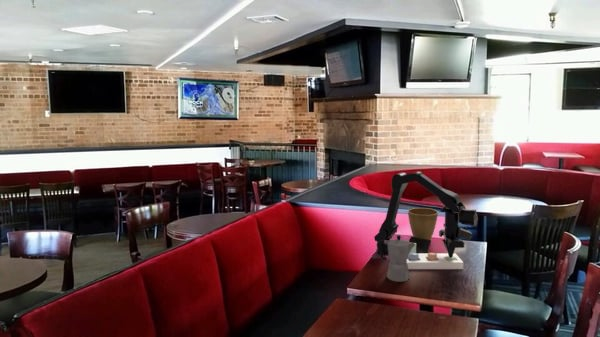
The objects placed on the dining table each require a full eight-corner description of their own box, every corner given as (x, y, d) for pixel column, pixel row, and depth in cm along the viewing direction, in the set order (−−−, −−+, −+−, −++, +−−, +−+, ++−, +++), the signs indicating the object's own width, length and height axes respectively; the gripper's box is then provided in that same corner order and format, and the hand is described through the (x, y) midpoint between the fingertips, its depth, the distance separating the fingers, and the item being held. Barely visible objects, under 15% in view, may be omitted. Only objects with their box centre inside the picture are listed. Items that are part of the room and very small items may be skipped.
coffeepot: (415, 275, 194) (415, 233, 191) (414, 283, 185) (415, 239, 182) (377, 272, 198) (378, 231, 195) (375, 280, 189) (375, 237, 186)
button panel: (406, 269, 201) (406, 251, 199) (402, 259, 212) (402, 242, 211) (463, 269, 199) (463, 251, 198) (455, 259, 211) (455, 242, 210)
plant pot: (402, 238, 245) (403, 208, 243) (429, 236, 248) (429, 207, 246) (414, 246, 231) (415, 215, 229) (442, 244, 233) (443, 213, 231)
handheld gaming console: (400, 249, 223) (407, 230, 226) (403, 254, 229) (410, 236, 232) (423, 256, 217) (430, 237, 220) (425, 261, 223) (432, 243, 226)
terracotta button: (428, 263, 203) (428, 255, 202) (426, 260, 207) (426, 252, 206) (437, 263, 203) (438, 255, 202) (435, 260, 207) (435, 252, 206)
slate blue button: (410, 263, 203) (410, 255, 203) (408, 260, 207) (408, 252, 207) (419, 263, 203) (419, 255, 203) (417, 260, 207) (417, 252, 206)
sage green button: (447, 266, 203) (447, 258, 202) (444, 263, 207) (444, 255, 206) (456, 266, 202) (456, 258, 202) (453, 263, 206) (454, 255, 206)
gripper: (477, 228, 192) (476, 264, 194) (464, 217, 211) (462, 250, 213) (450, 228, 193) (449, 264, 195) (439, 217, 211) (438, 250, 213)
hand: (450, 257), depth 204 cm, fingers closed, pressing on sage green button
